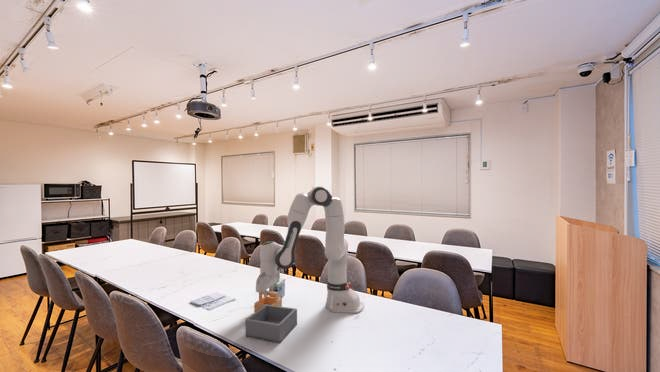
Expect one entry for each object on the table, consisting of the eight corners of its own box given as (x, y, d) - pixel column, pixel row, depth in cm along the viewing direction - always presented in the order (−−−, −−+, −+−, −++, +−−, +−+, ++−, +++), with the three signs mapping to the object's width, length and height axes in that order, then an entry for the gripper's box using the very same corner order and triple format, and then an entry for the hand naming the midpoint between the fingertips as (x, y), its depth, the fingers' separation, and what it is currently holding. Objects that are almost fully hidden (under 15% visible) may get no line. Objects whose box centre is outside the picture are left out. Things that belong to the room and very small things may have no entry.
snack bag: (217, 294, 185) (217, 290, 185) (236, 301, 173) (236, 297, 173) (189, 304, 169) (189, 300, 169) (207, 312, 157) (207, 308, 157)
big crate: (297, 324, 141) (296, 308, 141) (279, 343, 124) (279, 325, 124) (266, 319, 147) (266, 304, 147) (245, 337, 130) (245, 319, 130)
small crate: (281, 308, 160) (281, 289, 160) (272, 317, 149) (271, 296, 150) (265, 306, 163) (265, 287, 163) (254, 314, 153) (254, 294, 153)
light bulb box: (279, 301, 170) (278, 283, 170) (268, 300, 171) (268, 283, 172) (285, 294, 181) (285, 278, 181) (275, 294, 182) (275, 277, 182)
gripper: (262, 276, 146) (263, 302, 146) (281, 265, 165) (281, 289, 165) (252, 275, 148) (252, 301, 148) (272, 265, 167) (272, 288, 167)
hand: (268, 294), depth 156 cm, fingers open, 4 cm apart
